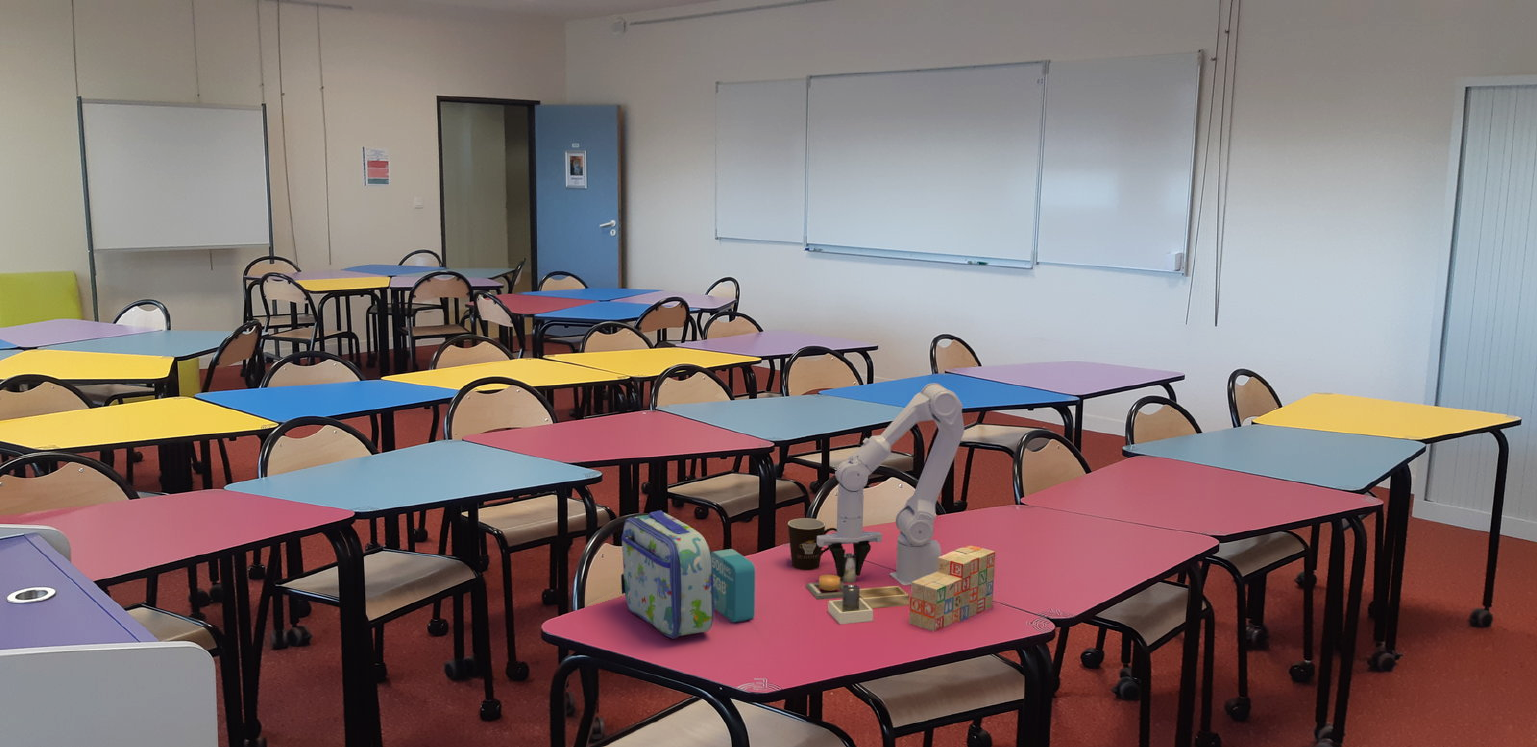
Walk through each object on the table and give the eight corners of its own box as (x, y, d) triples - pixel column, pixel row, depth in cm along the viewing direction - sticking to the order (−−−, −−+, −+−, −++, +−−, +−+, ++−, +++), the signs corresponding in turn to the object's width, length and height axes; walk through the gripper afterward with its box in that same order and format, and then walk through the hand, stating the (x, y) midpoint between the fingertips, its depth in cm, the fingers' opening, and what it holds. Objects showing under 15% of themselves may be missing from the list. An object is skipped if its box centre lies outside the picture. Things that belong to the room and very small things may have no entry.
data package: (709, 605, 227) (710, 549, 226) (729, 601, 229) (730, 546, 228) (734, 625, 217) (735, 566, 215) (755, 621, 219) (755, 563, 217)
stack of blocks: (934, 634, 214) (937, 574, 212) (908, 626, 218) (910, 566, 216) (993, 606, 229) (996, 550, 228) (967, 599, 234) (970, 543, 232)
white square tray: (860, 610, 226) (860, 597, 225) (872, 623, 219) (873, 610, 218) (828, 613, 224) (828, 600, 223) (839, 626, 217) (840, 613, 217)
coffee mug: (782, 569, 250) (783, 526, 249) (792, 557, 259) (793, 516, 257) (832, 574, 247) (833, 532, 246) (840, 563, 255) (842, 521, 254)
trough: (898, 597, 234) (898, 585, 233) (908, 607, 228) (909, 595, 228) (853, 601, 231) (853, 589, 230) (862, 611, 225) (863, 599, 225)
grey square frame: (840, 585, 240) (840, 579, 240) (853, 598, 232) (853, 591, 232) (805, 588, 238) (805, 582, 238) (817, 601, 230) (817, 594, 230)
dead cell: (855, 612, 223) (856, 581, 222) (861, 618, 220) (862, 587, 219) (839, 613, 222) (840, 583, 221) (845, 619, 219) (846, 588, 218)
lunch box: (615, 604, 227) (615, 506, 224) (663, 596, 232) (663, 500, 229) (667, 649, 205) (667, 541, 201) (718, 639, 210) (719, 533, 207)
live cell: (852, 578, 245) (853, 550, 244) (858, 583, 241) (858, 555, 240) (838, 580, 244) (839, 551, 243) (843, 585, 241) (844, 556, 240)
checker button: (835, 582, 238) (835, 573, 237) (842, 589, 233) (842, 580, 233) (816, 584, 236) (816, 575, 236) (822, 591, 232) (823, 582, 232)
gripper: (874, 508, 246) (872, 566, 248) (812, 512, 242) (811, 571, 244) (886, 517, 239) (884, 576, 241) (823, 521, 235) (821, 582, 237)
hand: (848, 574), depth 242 cm, fingers closed on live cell, 3 cm apart
